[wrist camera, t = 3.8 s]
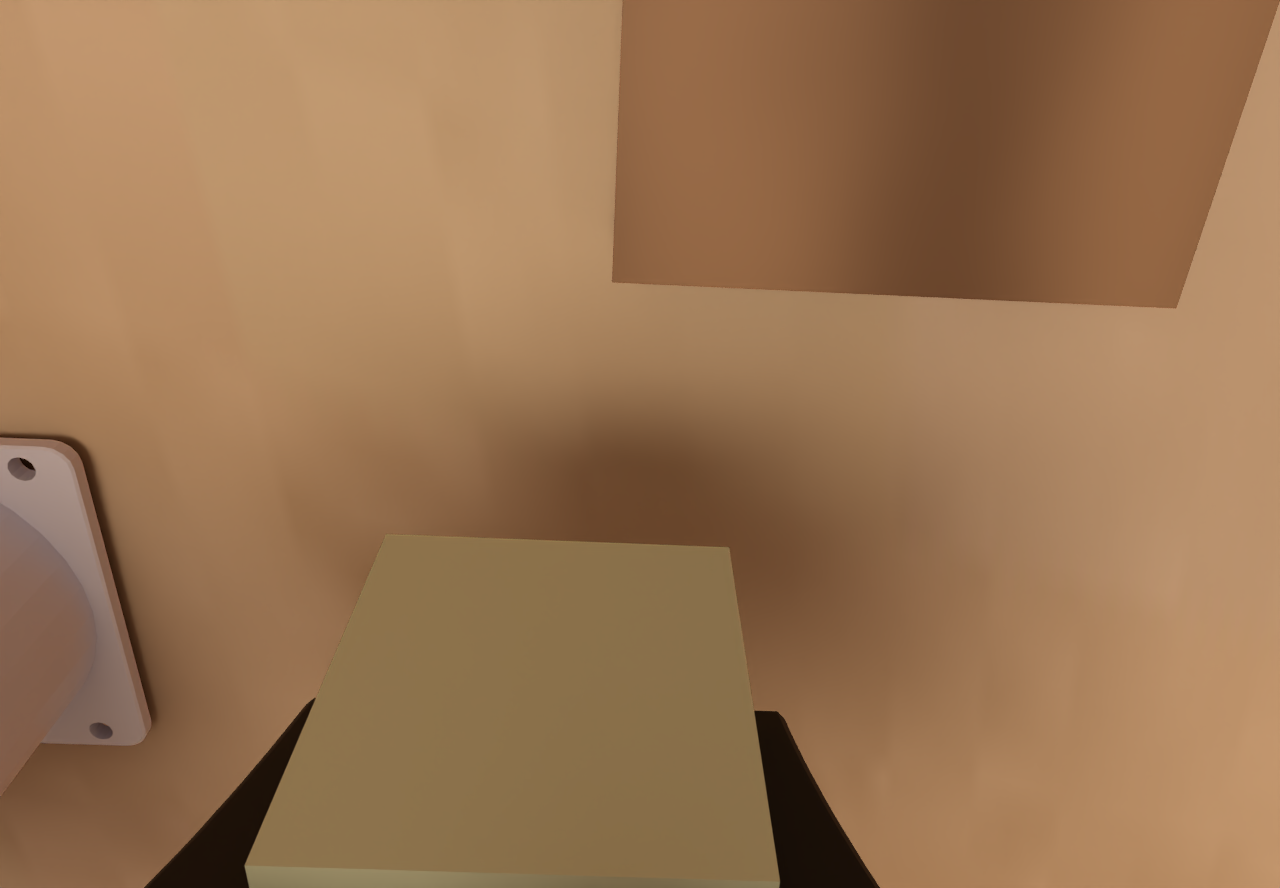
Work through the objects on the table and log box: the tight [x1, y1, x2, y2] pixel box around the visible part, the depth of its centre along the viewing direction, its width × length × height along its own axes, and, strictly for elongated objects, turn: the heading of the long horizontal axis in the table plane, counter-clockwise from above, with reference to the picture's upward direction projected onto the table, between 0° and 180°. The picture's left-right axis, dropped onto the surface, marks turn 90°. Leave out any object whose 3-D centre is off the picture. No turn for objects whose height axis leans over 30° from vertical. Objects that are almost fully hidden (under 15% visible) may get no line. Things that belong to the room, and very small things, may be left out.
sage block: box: [244, 534, 780, 888], centre depth 11 cm, size 4×4×5 cm
